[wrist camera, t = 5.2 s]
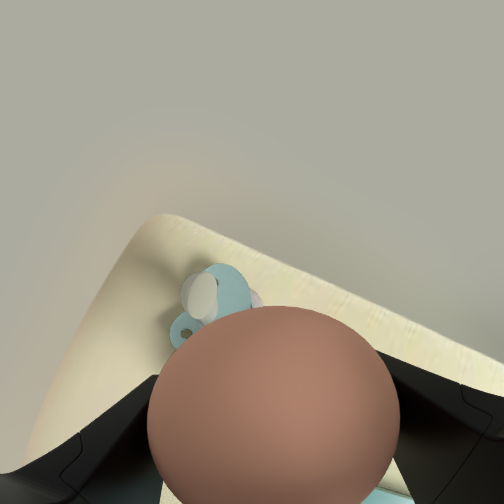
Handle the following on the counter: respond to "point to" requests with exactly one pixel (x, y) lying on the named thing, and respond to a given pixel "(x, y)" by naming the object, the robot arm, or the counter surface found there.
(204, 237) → the counter surface
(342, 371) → the ball
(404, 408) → the robot arm
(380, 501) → the tray
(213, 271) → the pacifier
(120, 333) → the counter surface
